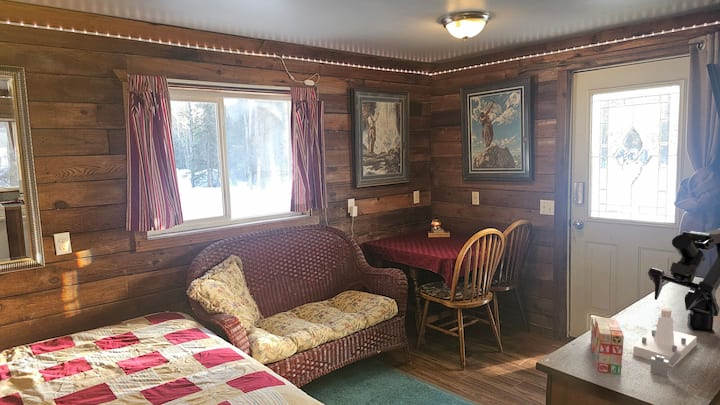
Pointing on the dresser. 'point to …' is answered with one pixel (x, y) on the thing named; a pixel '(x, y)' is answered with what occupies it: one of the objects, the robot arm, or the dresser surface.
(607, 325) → the stack of blocks
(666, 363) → the lighter
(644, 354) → the cream board with pegs
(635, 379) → the dresser surface
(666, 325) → the pepper shaker
